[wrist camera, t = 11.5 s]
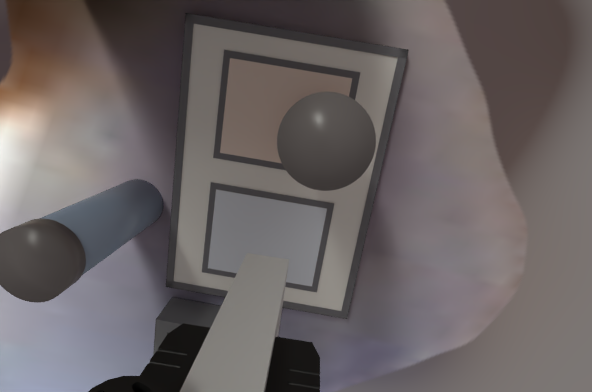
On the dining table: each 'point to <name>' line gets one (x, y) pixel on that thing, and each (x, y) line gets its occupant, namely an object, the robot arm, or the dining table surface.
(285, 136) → the terracotta marker
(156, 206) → the slate blue marker
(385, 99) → the picture sheet
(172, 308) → the button base
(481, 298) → the dining table surface
